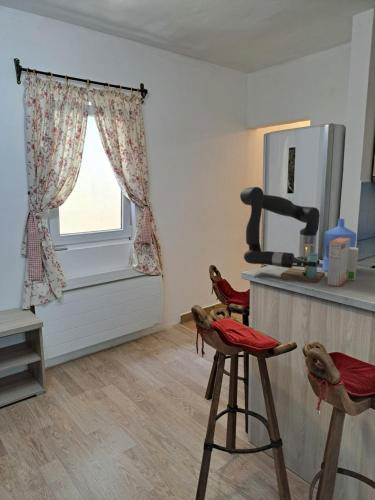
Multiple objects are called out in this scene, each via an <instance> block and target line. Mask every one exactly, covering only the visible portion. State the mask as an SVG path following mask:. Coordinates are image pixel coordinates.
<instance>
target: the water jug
mask: <svg viewBox="0 0 375 500" xmlns="http://www.w3.org/2000/svg"><path fill="white" fill-rule="evenodd" d="M337 220H338V222H337V226H336V227H334V228H332V229H329V230H327V231H325V232H324V245H325V249H324V256H323V259H322V260H323V261H322V270H323V271H324V272H327V273H328V263H329V243H330V241H332V240H335V239H337V238H350V239H351V241H350V247H355V248H356V242H357V233H356V232H355V231H353V230H351V229H349V228H347V227H346V226H345V218H338V219H337Z"/></svg>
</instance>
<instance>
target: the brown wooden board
mask: <svg viewBox="0 0 375 500" xmlns="http://www.w3.org/2000/svg"><path fill="white" fill-rule="evenodd" d="M303 270H304V269H300V268H299V269H298V268H293V267H292V268H287V269H286V270H285V271H283V272H282V273H280V274H279V275H280V276H279V278H280V279H285V280H291V281H299V282H307V283H313V284H318V283H319V282H320V281H321V280H322V279H324V278H325V277H326V272H325V271H324V272H323V271H317V274H316V278H307V277H306V274H303V273H302V271H303Z"/></svg>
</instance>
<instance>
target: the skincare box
mask: <svg viewBox="0 0 375 500" xmlns="http://www.w3.org/2000/svg"><path fill="white" fill-rule="evenodd" d="M358 256H359V247H356V246H355V247H350V257H349V272H348V280H347V281H355V280H356V277H357V276H356V274H357V267H358V259H359V258H358Z"/></svg>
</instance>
